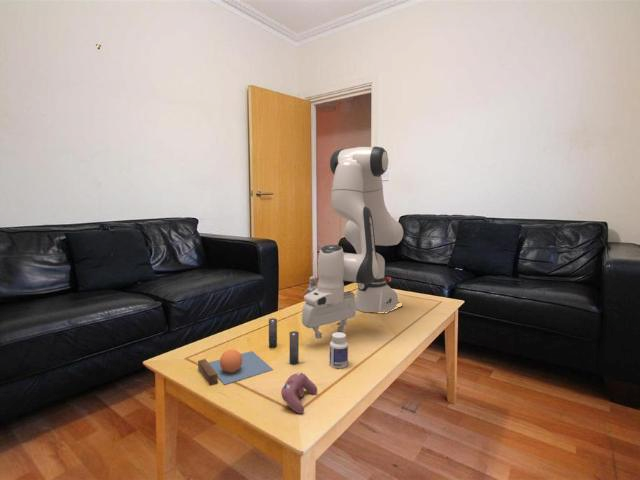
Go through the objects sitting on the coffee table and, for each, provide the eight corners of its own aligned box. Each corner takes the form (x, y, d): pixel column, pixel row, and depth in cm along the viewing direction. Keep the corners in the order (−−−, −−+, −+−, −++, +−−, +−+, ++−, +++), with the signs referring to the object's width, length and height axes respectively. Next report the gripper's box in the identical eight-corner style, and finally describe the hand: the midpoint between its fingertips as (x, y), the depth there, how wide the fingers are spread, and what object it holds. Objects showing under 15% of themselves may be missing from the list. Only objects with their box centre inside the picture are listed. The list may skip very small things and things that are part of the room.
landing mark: (252, 351, 107) (252, 350, 107) (273, 370, 96) (273, 369, 96) (206, 363, 99) (206, 362, 99) (224, 385, 87) (224, 384, 87)
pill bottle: (351, 364, 99) (352, 335, 98) (339, 370, 96) (339, 340, 95) (337, 358, 103) (338, 329, 102) (325, 364, 99) (326, 334, 98)
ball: (216, 368, 95) (237, 364, 99) (223, 378, 90) (245, 373, 94) (217, 348, 95) (237, 344, 98) (224, 357, 90) (246, 352, 93)
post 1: (274, 344, 112) (274, 317, 111) (278, 347, 110) (278, 320, 109) (267, 346, 111) (267, 319, 110) (271, 349, 109) (271, 321, 108)
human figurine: (297, 319, 136) (297, 274, 134) (304, 317, 138) (304, 273, 136) (320, 327, 128) (320, 279, 126) (326, 324, 130) (327, 278, 128)
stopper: (205, 367, 97) (205, 358, 96) (217, 383, 89) (217, 373, 88) (198, 369, 95) (198, 360, 95) (209, 385, 87) (209, 376, 87)
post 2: (295, 359, 102) (295, 330, 101) (300, 363, 100) (300, 333, 99) (287, 362, 100) (287, 332, 99) (292, 365, 98) (292, 335, 97)
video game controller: (304, 395, 86) (293, 369, 87) (319, 391, 85) (308, 364, 85) (287, 418, 77) (274, 389, 77) (304, 414, 75) (291, 384, 76)
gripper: (348, 288, 122) (347, 325, 124) (299, 297, 111) (299, 338, 112) (360, 292, 117) (359, 331, 119) (310, 301, 105) (310, 345, 107)
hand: (329, 334), depth 115 cm, fingers open, 8 cm apart
